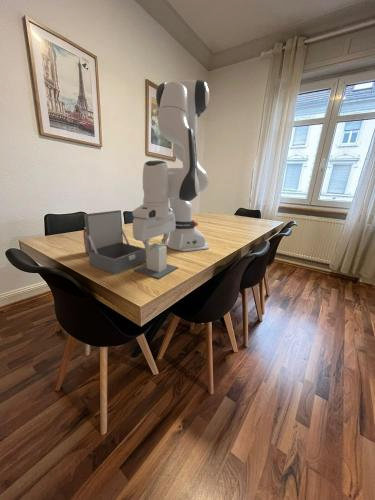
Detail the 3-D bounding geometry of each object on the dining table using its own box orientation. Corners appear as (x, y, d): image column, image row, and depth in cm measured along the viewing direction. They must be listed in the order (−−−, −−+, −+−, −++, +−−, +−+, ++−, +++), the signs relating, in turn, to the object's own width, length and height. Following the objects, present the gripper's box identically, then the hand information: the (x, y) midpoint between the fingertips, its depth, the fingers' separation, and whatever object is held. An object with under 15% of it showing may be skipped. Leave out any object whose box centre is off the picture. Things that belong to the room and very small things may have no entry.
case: (147, 261, 88) (146, 214, 82) (116, 274, 75) (111, 219, 68) (122, 253, 96) (119, 210, 89) (89, 265, 82) (83, 214, 76)
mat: (154, 261, 88) (154, 260, 88) (178, 268, 82) (178, 267, 82) (134, 270, 78) (134, 269, 78) (158, 279, 73) (158, 277, 72)
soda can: (100, 255, 93) (98, 229, 89) (83, 255, 91) (80, 229, 88) (103, 250, 99) (101, 225, 96) (87, 250, 98) (84, 225, 94)
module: (166, 268, 81) (166, 245, 78) (159, 272, 77) (158, 248, 74) (154, 264, 84) (154, 242, 81) (146, 268, 80) (146, 245, 77)
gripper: (166, 206, 83) (166, 239, 88) (128, 212, 67) (130, 252, 71) (179, 207, 80) (179, 241, 85) (143, 214, 64) (144, 256, 68)
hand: (156, 246), depth 78 cm, fingers open, 8 cm apart
